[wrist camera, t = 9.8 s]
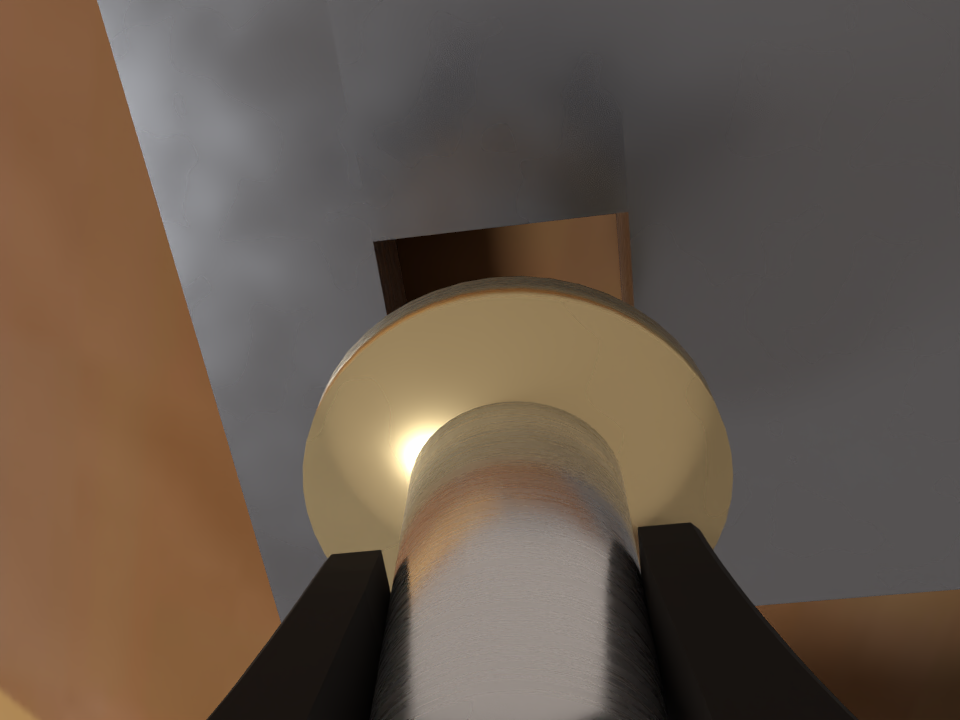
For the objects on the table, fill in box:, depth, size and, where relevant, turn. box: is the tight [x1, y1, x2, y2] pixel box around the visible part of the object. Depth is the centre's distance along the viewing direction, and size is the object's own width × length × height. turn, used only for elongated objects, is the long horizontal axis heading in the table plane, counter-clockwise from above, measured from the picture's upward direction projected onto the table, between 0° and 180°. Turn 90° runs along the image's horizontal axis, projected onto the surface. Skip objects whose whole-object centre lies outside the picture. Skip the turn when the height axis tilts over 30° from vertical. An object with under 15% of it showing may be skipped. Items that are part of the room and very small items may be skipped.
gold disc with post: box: [303, 276, 733, 720], centre depth 12 cm, size 6×6×8 cm
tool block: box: [97, 0, 960, 623], centre depth 19 cm, size 21×26×3 cm
